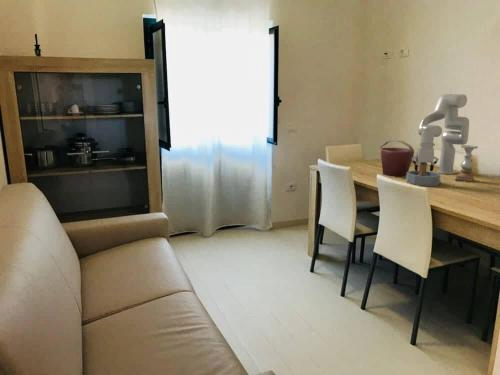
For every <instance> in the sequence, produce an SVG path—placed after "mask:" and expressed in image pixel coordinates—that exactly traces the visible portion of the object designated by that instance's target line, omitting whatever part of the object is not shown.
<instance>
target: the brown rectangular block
mask: <svg viewBox="0 0 500 375" xmlns="http://www.w3.org/2000/svg"><path fill="white" fill-rule="evenodd" d="M427 169H428V163H425V162H419V163H418V171H419V172H418V175H419V176H426V171H428V170H427Z"/></svg>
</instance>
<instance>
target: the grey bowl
mask: <svg viewBox="0 0 500 375" xmlns="http://www.w3.org/2000/svg"><path fill="white" fill-rule="evenodd" d="M418 172H419V170H417V171H415V169H414V170H409V171H408V172H407V174H406V176H405V177H406V178H405V181H406V183H407V184H409V183H410V185H412V184H413V185H412V186H417V185H418V186H420V187H438V186H439V185H440V181H441V173H437V172H434V171H430V170H429V171H428V170H426V176H419V175H418Z"/></svg>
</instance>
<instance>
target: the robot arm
mask: <svg viewBox="0 0 500 375" xmlns="http://www.w3.org/2000/svg"><path fill="white" fill-rule="evenodd" d="M467 103H468V98H467V95H466V94H463V93H462V94H459V93H458V94H455V93H454V94H453V93H452V94H450V93H449V94H448V93H447V94H442V95H440V96H439V97H438V100H437V102H436V104H435V106H434V109H433V111H432V112H431V113H429V114H427V115H426V116H424V118H423V119H422V120H421V121H420V124H419V127H418V134H419V135H420V145H419V146H418V148H417V152H416V155H415V156H413V158H411V159H412V162H411V163H413V164H414V170H415V171H419V163H420V162H425V163H427V164H429V163H430V166H429V171H430V172H434V171H433V170H435V169H434V168H435V167H434V166H435V165H436V164H437V163H438V162H439V166H438V169H436V172H435V173H438V174H440V175H442V174H443V175H455V173H456V172H455V171H454V163H455V158H456V148H455V146H454V145H459V146H460V145H467V143H468V141H469V132H470V119H469V118H468V117H466V116H459V109H460V108H463V107H465V106H467ZM443 119H444V128H445V129H446V130H445V131H443V128H442V127H441V126H440V125H435V124H434V125H433V124H431V123H434V122H437V121H441V120H443ZM440 136H441V149H440V150H441V151H440V158H438V157H436V156H435V148H434V146H436V143H434V141H435V140H434V138H438V137H440Z"/></svg>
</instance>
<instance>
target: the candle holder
mask: <svg viewBox="0 0 500 375" xmlns="http://www.w3.org/2000/svg"><path fill="white" fill-rule="evenodd" d="M460 148H462V149H463V150H464V151H465V152H464V154H463V156H464V159H463V161H462V162H461V163H460V167H461V169H460V173H458V174H456V176H455V180H454V181H455V182H460V181H465V182H464V183H470V182H473V183H474V180H475V177H474V175H472V174H471V169H473V162H472V160H471V158H472V157H473V154H472V152H473V151H474V150H475V149H478V146H477V145H468V144H465V145H461V146H460Z"/></svg>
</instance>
